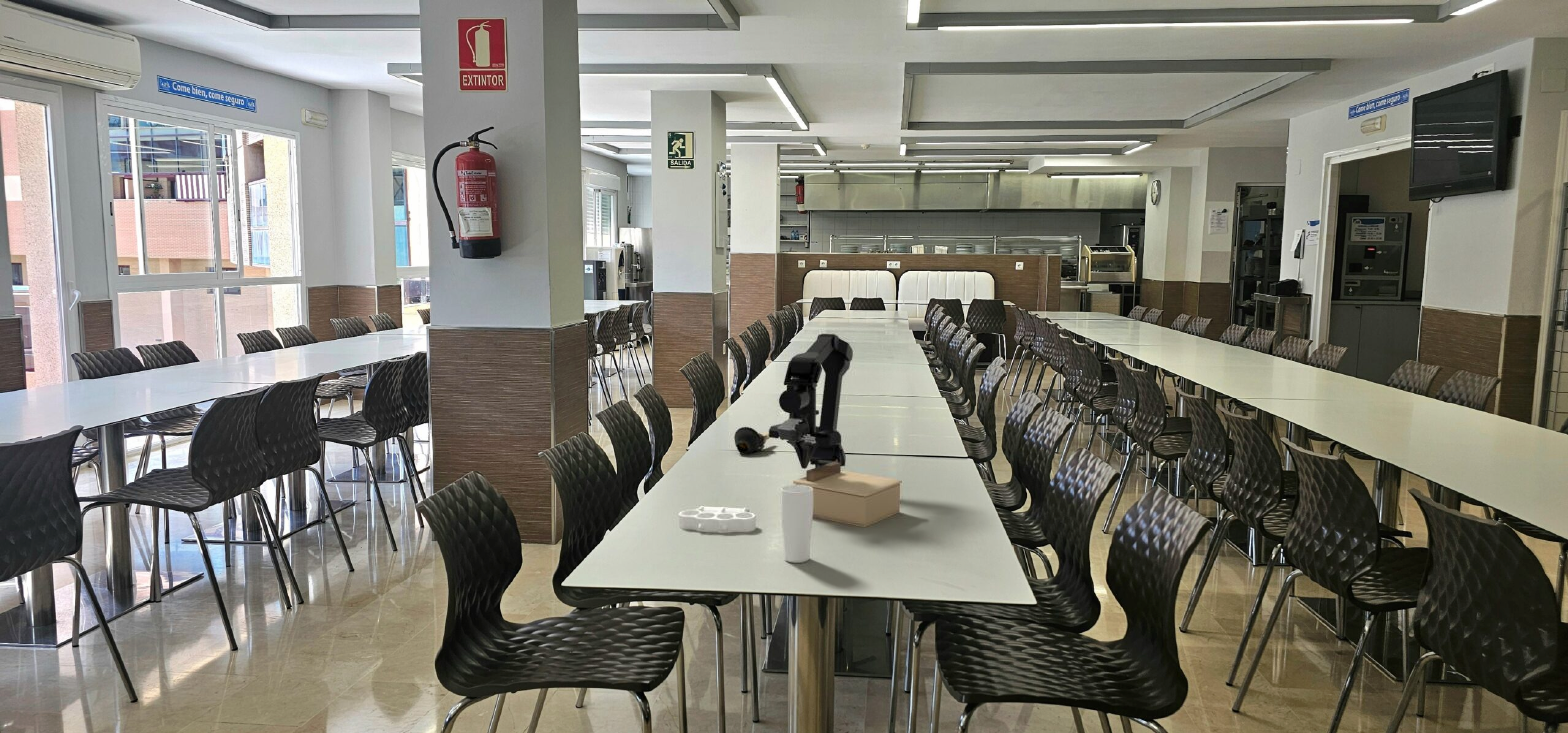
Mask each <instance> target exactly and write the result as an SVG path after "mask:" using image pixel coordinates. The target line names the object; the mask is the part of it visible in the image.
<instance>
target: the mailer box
mask: <svg viewBox="0 0 1568 733" xmlns="http://www.w3.org/2000/svg"><path fill="white" fill-rule="evenodd" d="M794 485H799V484H794ZM812 488H813V494H814V508H813V518H819V519H822V520H827V521H833V522H838V523H843V524H845V525H852V526H857V527H863V528H866V527H869V526H871V525H873V524H875V523H878V522H880V521H882V520H884V519H887V518H889V517H892V516H894V515H896V514H899V513H900V511H901V510H900V508H901V507H900V505H901V502H900V501H901V483H900V484H898V485H895V486H892V487H890V488H887V489H885V490H882V491H880V492H877V493H874V494H872V495H869V496H867V497H864V496H858V495H853V494H847V493H842V492H837V491H831V490H826V489H820V488H815V487H812Z"/></svg>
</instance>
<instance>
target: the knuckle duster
mask: <svg viewBox="0 0 1568 733" xmlns="http://www.w3.org/2000/svg"><path fill="white" fill-rule="evenodd" d="M756 519H757V518H756V514H754V513H752V512H750V509H749V508H748V507H743V508H739V507H738V508H737V507H736V508H735V507H726V506H722V507H718V506H705V505H701V506H699V507H698V508H696V509H695V508H694V509H686V510H682V511H680V512H679V513H678V528H679V529H683V530H692V531H693V530H694V531H697V532H699V533H701V532H702V533H717V534H718V533H719V534H726V533H727V534H729V533H733V532H734V533H736V532H737V533H740V532H741V533H749V532H750V533H751V532H753V531H755V530H756V529H757V527H756V526H757V525H756V523H757V522H756V521H757V520H756Z"/></svg>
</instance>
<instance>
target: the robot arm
mask: <svg viewBox="0 0 1568 733" xmlns="http://www.w3.org/2000/svg"><path fill="white" fill-rule="evenodd" d="M853 356H854V354H853V348H852V346H851V345H850V344H849V342H847V341H845V340H844V339H842V338H840V337H839V336H838V334H835V333H821V334H818V335H817V338H816V340H815V341H814V343H812V345H810V347H809V348H808V349H807V350H806V352H802V353H797V354H796V355H794V356H793V357H791V359H790V361H789V362H788V365H787V368H786V373H785V377H784V380H783V386H786V389H785V390H784V391H783V392H782V393H780V395H779V398H778V405H779V407H780V408H781V410H782V411H783V412H784V413H786V414H788V415H789V416H788V419H786V420H785V421H783V422H782V423H778V424H775V425H771V426H770V427H769V429H768V434H769V437H770V439H771V438H772V439H780V440H781V441H784V440H785V441H786V443H787V444H790V445H791V447H793V449H794V450H795V454H796V456H797V458H798V461H799V464H800V467H801V469H807V468H808V466H809V463H810V465H812V466H813V465H814V468H816V467H819V466H823V465H826V464H829V463H832V462H838V463H841V467H845V466H846V461H847V456H846V453H845V451H844V448H843V446H842V435H841V433H840V431H838V420H839V412H840V411H839V410H840V401H841V392H842V384H843V377H844V376H845V375H846V373H847V372H848V371H849V369H850V366H851V361H852V360H853ZM822 372H824V375H825V376H824V382H823V383H824V384H823V391H822V392H823V393H822V402H821V409H820V410H821V411H820V410H818V409H817V388H818V383H819V380H820V378H821V375H822ZM819 414H820V418H819V425H817V415H819Z"/></svg>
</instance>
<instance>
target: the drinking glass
mask: <svg viewBox="0 0 1568 733" xmlns="http://www.w3.org/2000/svg"><path fill="white" fill-rule="evenodd" d="M813 508H814V494H813V488H812V487H810V486H806V485H795V484H788V485H784V486H782V487H781V488H780V517H781V518H780V520H781V528H782V543H783V558H784V560H785V561H786V562H789V563H795V564H802V563H806V562H808V561H809V560H810V558H811V539H812V530H813V520H814V519H813V518H814V517H813Z"/></svg>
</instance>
